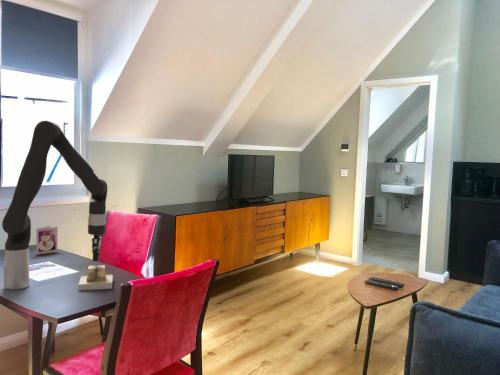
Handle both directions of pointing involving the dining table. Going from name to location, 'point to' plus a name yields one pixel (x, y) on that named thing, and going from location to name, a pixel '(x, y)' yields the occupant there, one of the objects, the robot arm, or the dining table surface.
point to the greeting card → (46, 240)
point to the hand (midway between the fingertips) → (95, 258)
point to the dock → (95, 283)
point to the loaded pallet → (96, 273)
